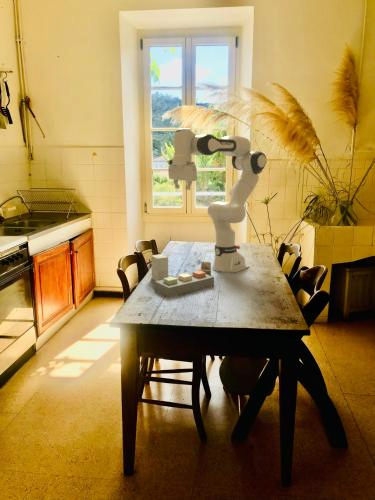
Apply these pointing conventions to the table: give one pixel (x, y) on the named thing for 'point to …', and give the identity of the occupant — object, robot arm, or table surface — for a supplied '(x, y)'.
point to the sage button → (170, 280)
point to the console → (184, 285)
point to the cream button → (184, 277)
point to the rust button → (199, 274)
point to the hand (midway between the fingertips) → (182, 189)
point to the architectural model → (206, 267)
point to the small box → (159, 267)
